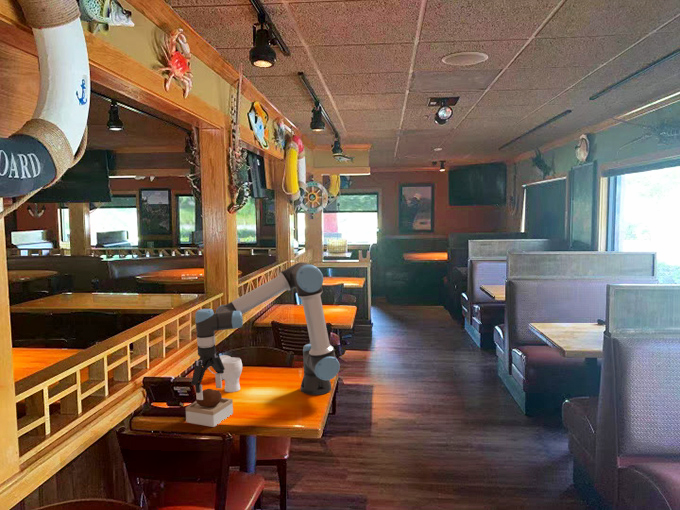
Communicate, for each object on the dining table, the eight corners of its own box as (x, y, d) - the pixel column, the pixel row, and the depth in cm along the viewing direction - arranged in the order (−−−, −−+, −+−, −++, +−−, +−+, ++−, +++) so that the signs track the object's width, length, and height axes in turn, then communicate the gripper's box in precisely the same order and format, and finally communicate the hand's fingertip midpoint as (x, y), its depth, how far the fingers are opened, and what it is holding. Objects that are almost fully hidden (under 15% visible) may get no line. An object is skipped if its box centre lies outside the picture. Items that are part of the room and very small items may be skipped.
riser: (233, 413, 219) (232, 399, 219) (213, 427, 207) (213, 411, 206) (206, 409, 225) (205, 395, 224) (186, 422, 212) (185, 407, 211)
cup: (238, 394, 243) (236, 364, 241) (217, 392, 245) (216, 363, 243) (246, 386, 253) (245, 357, 252) (226, 385, 255) (225, 356, 254)
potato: (224, 406, 214) (223, 390, 213) (199, 412, 209) (198, 394, 208) (219, 400, 221) (218, 383, 220) (194, 405, 216) (193, 388, 215)
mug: (228, 374, 271) (227, 354, 270) (233, 379, 264) (232, 358, 263) (206, 379, 265) (205, 358, 264) (211, 383, 258) (210, 362, 257)
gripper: (216, 337, 225) (219, 382, 228) (179, 353, 202) (183, 403, 205) (230, 338, 223) (233, 384, 225) (195, 354, 200) (198, 405, 202)
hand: (209, 393), depth 215 cm, fingers open, 13 cm apart
